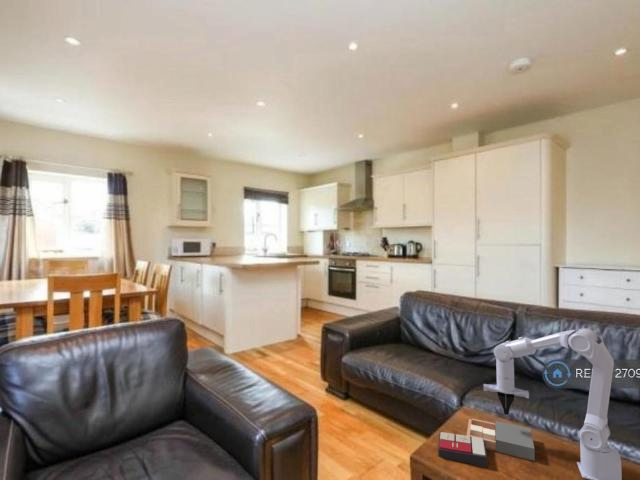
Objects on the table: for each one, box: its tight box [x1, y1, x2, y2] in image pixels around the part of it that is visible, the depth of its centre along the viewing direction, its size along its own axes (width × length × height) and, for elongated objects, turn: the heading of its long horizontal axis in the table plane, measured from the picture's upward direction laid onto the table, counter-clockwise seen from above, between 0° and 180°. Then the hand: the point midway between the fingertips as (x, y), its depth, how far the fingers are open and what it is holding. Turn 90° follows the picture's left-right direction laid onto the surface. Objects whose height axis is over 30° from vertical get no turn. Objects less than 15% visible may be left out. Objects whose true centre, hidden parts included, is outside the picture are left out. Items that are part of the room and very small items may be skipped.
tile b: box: [470, 424, 483, 438], centre depth 123 cm, size 4×4×2 cm
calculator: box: [437, 431, 489, 469], centre depth 114 cm, size 11×4×15 cm
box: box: [466, 417, 496, 452], centre depth 123 cm, size 9×14×3 cm, turn 152°
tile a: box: [483, 428, 496, 441], centre depth 121 cm, size 4×4×2 cm
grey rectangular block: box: [495, 420, 536, 462], centre depth 118 cm, size 11×14×4 cm
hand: (506, 413), depth 122 cm, fingers closed
